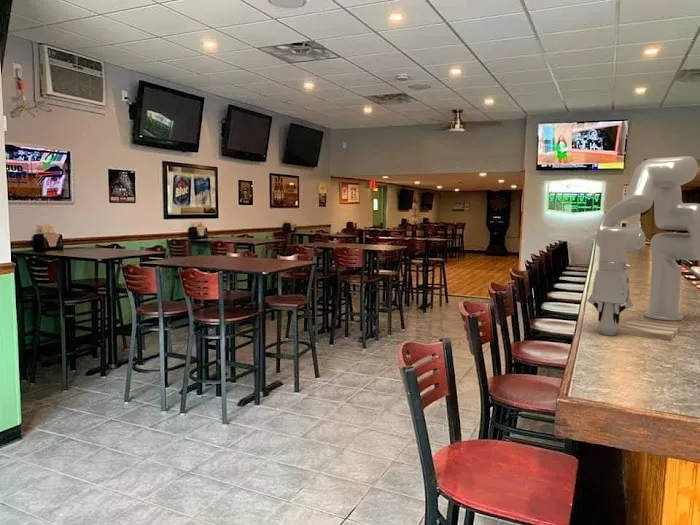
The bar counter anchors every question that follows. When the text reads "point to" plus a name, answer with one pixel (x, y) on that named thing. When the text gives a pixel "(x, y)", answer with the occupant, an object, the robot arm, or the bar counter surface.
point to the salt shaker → (608, 320)
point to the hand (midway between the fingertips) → (608, 324)
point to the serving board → (649, 329)
